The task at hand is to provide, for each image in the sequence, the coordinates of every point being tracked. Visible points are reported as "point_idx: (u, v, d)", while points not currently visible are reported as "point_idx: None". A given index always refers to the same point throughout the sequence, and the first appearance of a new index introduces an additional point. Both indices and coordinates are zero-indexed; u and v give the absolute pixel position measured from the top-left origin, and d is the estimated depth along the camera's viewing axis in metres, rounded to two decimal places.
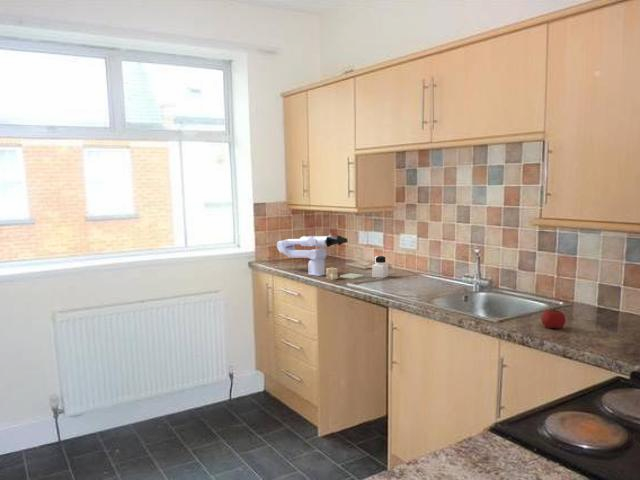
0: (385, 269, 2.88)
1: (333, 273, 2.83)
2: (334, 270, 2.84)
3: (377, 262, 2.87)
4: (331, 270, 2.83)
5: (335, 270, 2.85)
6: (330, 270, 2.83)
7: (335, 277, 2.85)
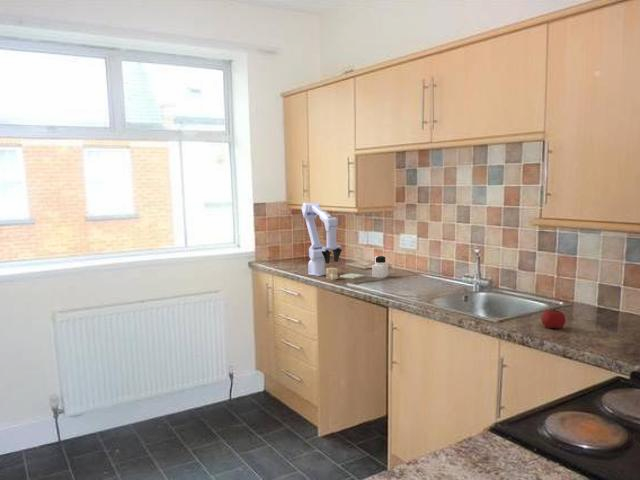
0: (385, 269, 2.88)
1: (333, 273, 2.83)
2: (334, 270, 2.84)
3: (377, 262, 2.87)
4: (331, 270, 2.83)
5: (335, 270, 2.85)
6: (330, 270, 2.83)
7: (335, 277, 2.85)
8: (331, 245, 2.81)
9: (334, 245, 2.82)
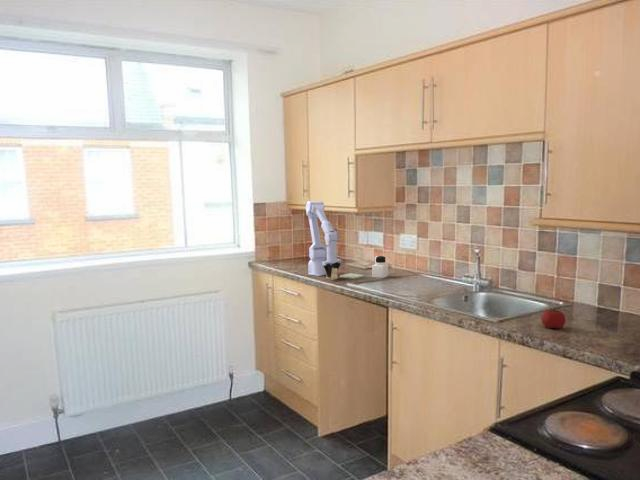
0: (385, 269, 2.88)
1: (333, 273, 2.83)
2: (334, 270, 2.84)
3: (377, 262, 2.87)
4: (331, 270, 2.83)
5: (335, 270, 2.85)
6: None
7: (335, 277, 2.85)
8: (331, 259, 2.82)
9: (334, 259, 2.83)
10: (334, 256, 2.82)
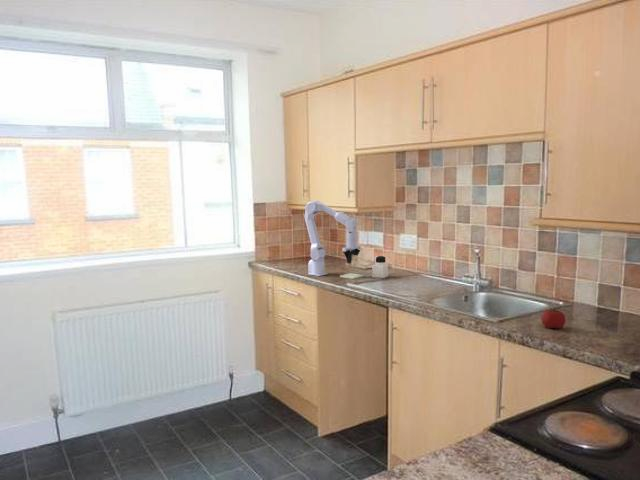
0: (385, 269, 2.88)
1: (353, 260, 2.88)
2: (354, 257, 2.89)
3: (377, 262, 2.87)
4: (351, 257, 2.88)
5: (355, 257, 2.89)
6: (351, 257, 2.88)
7: (355, 264, 2.90)
8: (351, 245, 2.87)
9: (354, 245, 2.87)
10: (354, 242, 2.87)
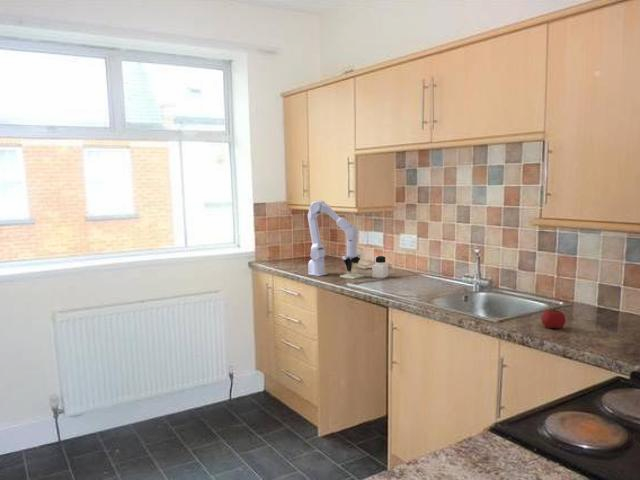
0: (385, 269, 2.88)
1: (353, 268, 2.89)
2: (354, 265, 2.89)
3: (377, 262, 2.87)
4: (351, 265, 2.88)
5: (355, 265, 2.90)
6: (351, 265, 2.88)
7: (355, 272, 2.90)
8: (351, 253, 2.87)
9: (354, 253, 2.88)
10: (354, 250, 2.88)
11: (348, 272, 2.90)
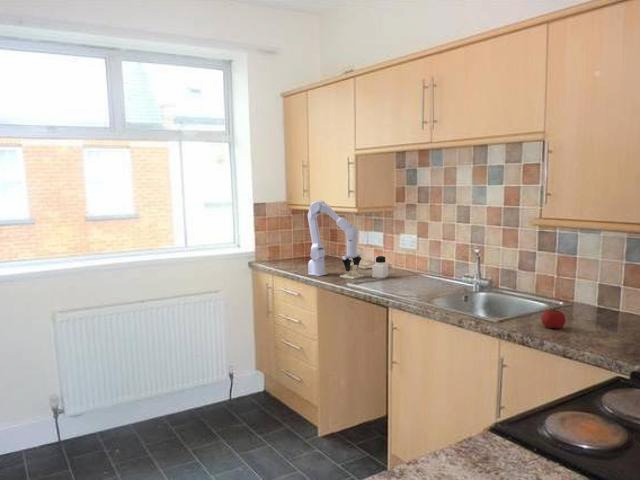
0: (385, 269, 2.88)
1: (353, 270, 2.89)
2: (354, 267, 2.89)
3: (377, 262, 2.87)
4: (351, 267, 2.88)
5: (355, 267, 2.90)
6: (350, 266, 2.89)
7: (355, 273, 2.90)
8: (351, 253, 2.87)
9: (354, 253, 2.88)
10: (354, 250, 2.88)
11: (348, 274, 2.90)
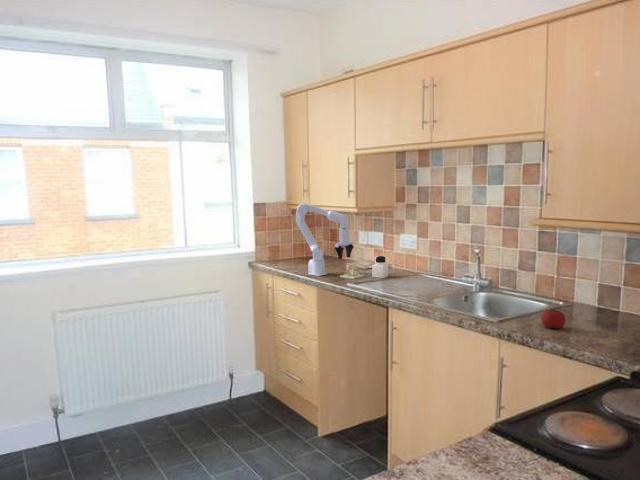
0: (385, 269, 2.88)
1: (353, 270, 2.89)
2: (354, 267, 2.89)
3: (377, 262, 2.87)
4: (351, 267, 2.88)
5: (355, 267, 2.90)
6: (350, 266, 2.89)
7: (355, 273, 2.90)
8: (344, 241, 2.94)
9: (347, 241, 2.95)
10: (346, 238, 2.95)
11: (348, 274, 2.90)
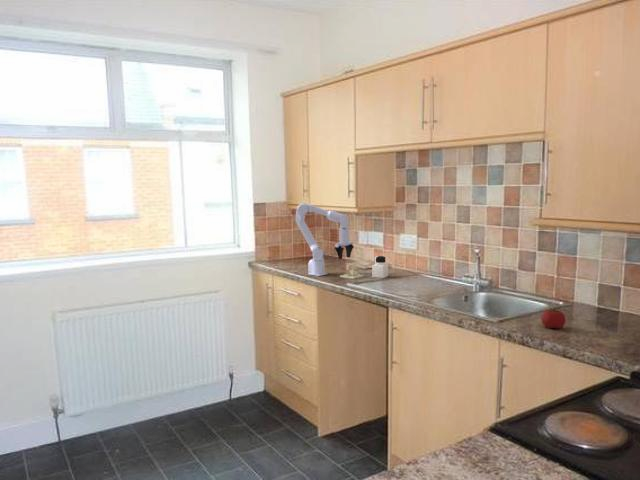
0: (385, 269, 2.88)
1: (353, 270, 2.89)
2: (354, 267, 2.89)
3: (377, 262, 2.87)
4: (351, 267, 2.88)
5: (355, 267, 2.90)
6: (350, 266, 2.89)
7: (355, 273, 2.90)
8: (344, 241, 2.94)
9: (347, 241, 2.95)
10: (346, 238, 2.95)
11: (348, 274, 2.90)
